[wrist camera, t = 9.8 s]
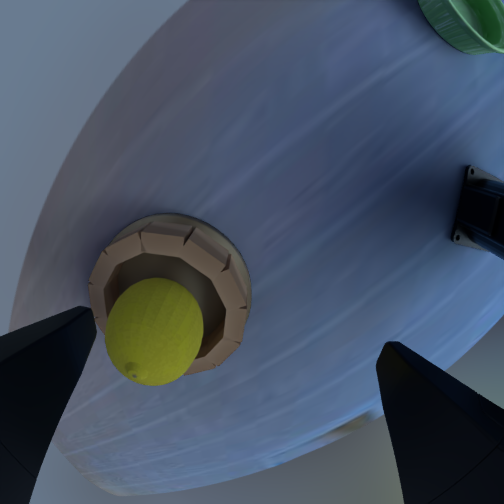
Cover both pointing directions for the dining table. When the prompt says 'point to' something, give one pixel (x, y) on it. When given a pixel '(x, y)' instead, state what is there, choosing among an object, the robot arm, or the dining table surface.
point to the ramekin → (468, 23)
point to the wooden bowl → (179, 277)
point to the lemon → (154, 331)
